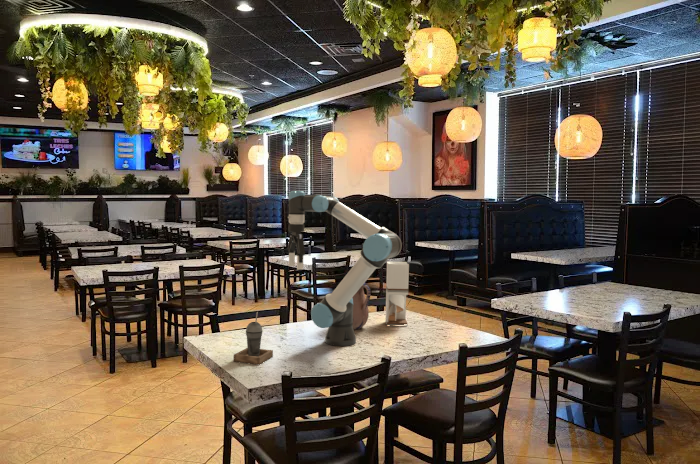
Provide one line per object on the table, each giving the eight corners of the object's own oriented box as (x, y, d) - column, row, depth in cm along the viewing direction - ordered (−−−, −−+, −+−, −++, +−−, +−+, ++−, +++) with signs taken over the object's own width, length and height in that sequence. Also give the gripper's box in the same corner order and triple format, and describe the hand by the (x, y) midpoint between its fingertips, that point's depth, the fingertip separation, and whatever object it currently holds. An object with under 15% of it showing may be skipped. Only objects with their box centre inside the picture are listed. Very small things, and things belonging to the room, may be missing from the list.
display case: (386, 326, 302) (388, 263, 300) (385, 322, 312) (386, 261, 310) (407, 326, 302) (408, 264, 300) (405, 322, 312) (406, 262, 310)
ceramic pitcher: (348, 322, 309) (349, 279, 307) (379, 328, 296) (381, 282, 295) (329, 328, 295) (330, 282, 293) (361, 334, 282) (362, 286, 281)
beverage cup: (245, 355, 237) (246, 309, 236) (262, 355, 238) (263, 310, 237) (244, 360, 230) (245, 313, 229) (261, 360, 231) (262, 313, 230)
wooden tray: (272, 357, 238) (272, 350, 238) (259, 364, 226) (259, 357, 226) (247, 354, 242) (247, 347, 242) (233, 361, 230) (233, 354, 230)
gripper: (281, 222, 269) (281, 264, 270) (296, 224, 246) (295, 271, 247) (296, 222, 271) (295, 264, 273) (312, 224, 249) (311, 270, 250)
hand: (295, 267), depth 260 cm, fingers open, 13 cm apart
